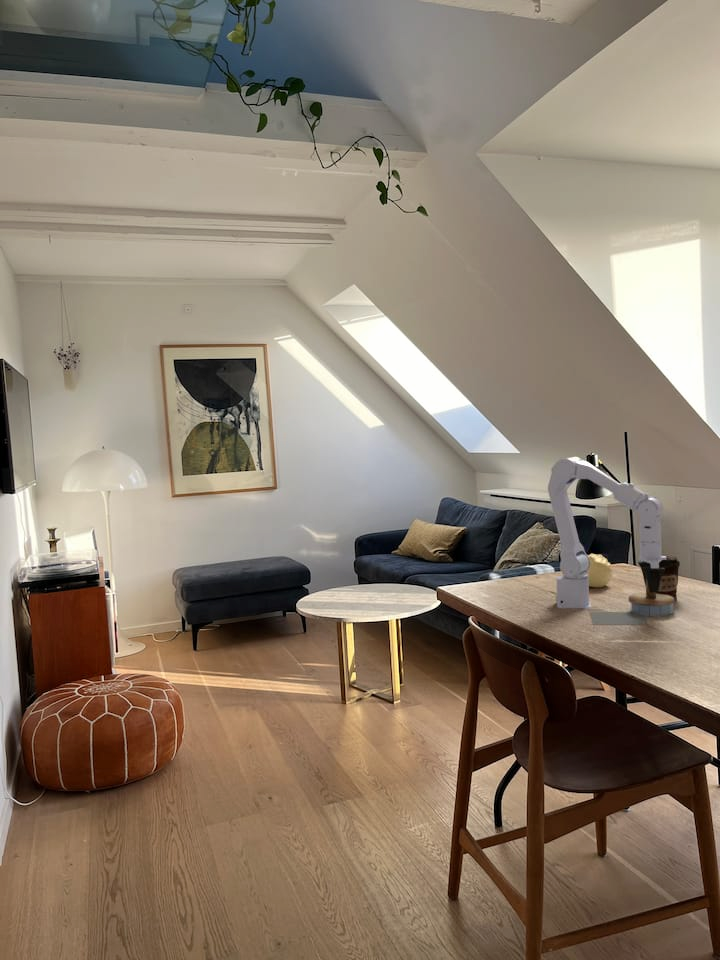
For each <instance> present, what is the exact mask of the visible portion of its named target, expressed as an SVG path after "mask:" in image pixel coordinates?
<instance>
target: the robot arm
mask: <svg viewBox="0 0 720 960" xmlns="http://www.w3.org/2000/svg"><path fill="white" fill-rule="evenodd" d="M550 471H551V473H550V478H549V480H548V485H547V492H548V496H549V500H550V503H551V507H552V509H551V510H552V513H553V516H554V520H555V525H556V528H557V533H558V537H559V540H560V545H561V549H560V553H559V556H560V563H559V570H560V572H561V573H562V576H556V578H555V580H556V582H555V584H556V595H555V602H556V603H557V604H556V605H557V608H558V609H592V605H591V602H590V591H589V588H590V586H589V583H588V573H587V570H588V569H589V567H590V558H589V557H588V555H589V554H587V553H586V551H585V547H584V546H583V544H582V543H581V542H580V539H579V534H578V531H577V528H576V523H575V519H574V515H573V510H572V507H571V502H570V498H569V495H568V489H569V488H570V487H571V486H572V485H573V482H574V481H576V480H589V481H591V482H592V483H594V484H596V485H598V486H600V487H602V488H603V489H605V490H607V491H609V492H610V493H612V495H613V499H614V500H615V501H617V502H618V503H620V504H622V505H624V506H625V507H627V508H628V509H630V510H632V512H635V513H636V515H637V517H638V518H639V521H638V522H639V525H638V527H639V528H638V529H639V531H638V533H639V535H638V536H639V556H638V558H639V559H638V560H639V561H637V564H638V565H639V568H640V571H641V572H642V576H643V582H644V586H645V587H646V580H647V582H648V588H649V591H650V593H658V590H659V585H660V580H661V577H662V575H663V573H664V571H665V568H659V562H661V561H662V560H666V556H665V555H663V554H662V550H663V549H662V523H661V514H662V512H663V504H662V502H661V500H659V499H658V498H657V497H656V496H650V494H649V493H647V492H643V491H641V490H640V489H638V488H636V487H635V484H634V483H632V482H630V483H628V482H627V481H626V482H621V483H619V482H618V481H617V480H615V479H614V478H612V477H610V475H607V474H606V473H605V472H604V471H602V470H601V469H599V468H598V467H596V466H594V465H593V464H591V463H590V462H589V461H586V460H583V459H582V458H580V457H578V456H570V457H565V458H564V457H563V458H559V459H558V460H557V461H556V462H555V463H554V464H553V466H552V467H551V468H550Z"/></svg>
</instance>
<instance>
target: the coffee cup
mask: <svg viewBox="0 0 720 960" xmlns="http://www.w3.org/2000/svg"><path fill="white" fill-rule="evenodd" d="M680 564H681V562H680V561H679V560H678V557H676V556H666V560H662V561H661V562H659V568H665V571H664V573H663V575H662V577H661V580H660V585H659V590H658V593H656V594H664V595H669V596H672V597H674V602H677V601H678V598H677V589H678V583H679V569H680Z"/></svg>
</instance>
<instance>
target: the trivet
mask: <svg viewBox="0 0 720 960" xmlns="http://www.w3.org/2000/svg"><path fill="white" fill-rule="evenodd" d="M588 614H589V615H590V619H591V622H592V625H593V626H649V625H650V624H649V623H648V621H647V619H646V616H643V615H638V614H635V613H632V611H589V613H588Z"/></svg>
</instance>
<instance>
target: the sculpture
mask: <svg viewBox="0 0 720 960" xmlns="http://www.w3.org/2000/svg"><path fill="white" fill-rule="evenodd" d="M587 555H588V557H589V558H590V567H589V569H588V570H587V573H588V583H589V588H590V587H591V588H603V587H605V586H606V585H608V584H609V582H610V580H611V578H612V576H613V575H612V573H613V569H612V564H611V563H610V562H609V561H608V559H607V558H605V557H604V556H603V555H602V554H595V553H590V554H587Z"/></svg>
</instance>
